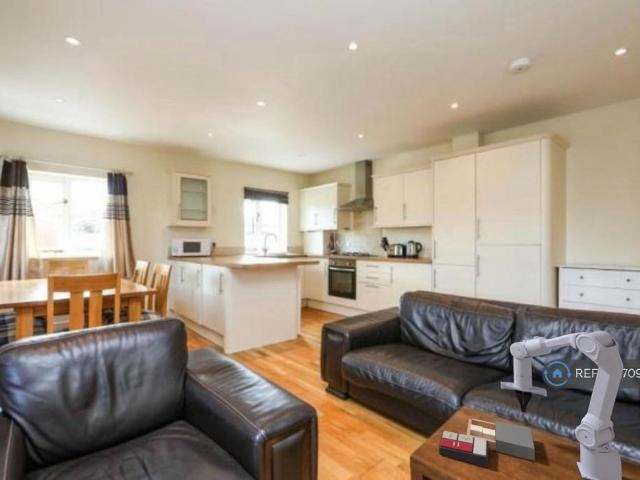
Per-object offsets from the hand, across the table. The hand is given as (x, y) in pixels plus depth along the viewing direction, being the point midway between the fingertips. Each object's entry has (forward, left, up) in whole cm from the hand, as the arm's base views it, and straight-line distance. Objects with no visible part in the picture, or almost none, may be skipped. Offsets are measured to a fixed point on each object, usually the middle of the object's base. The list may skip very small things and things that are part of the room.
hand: (523, 411), depth 123 cm
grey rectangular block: (+4, +8, -9) cm, 13 cm away
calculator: (+19, +21, -10) cm, 30 cm away
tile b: (+16, +8, -6) cm, 19 cm away
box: (+14, +8, -9) cm, 19 cm away
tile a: (+12, +9, -9) cm, 17 cm away
